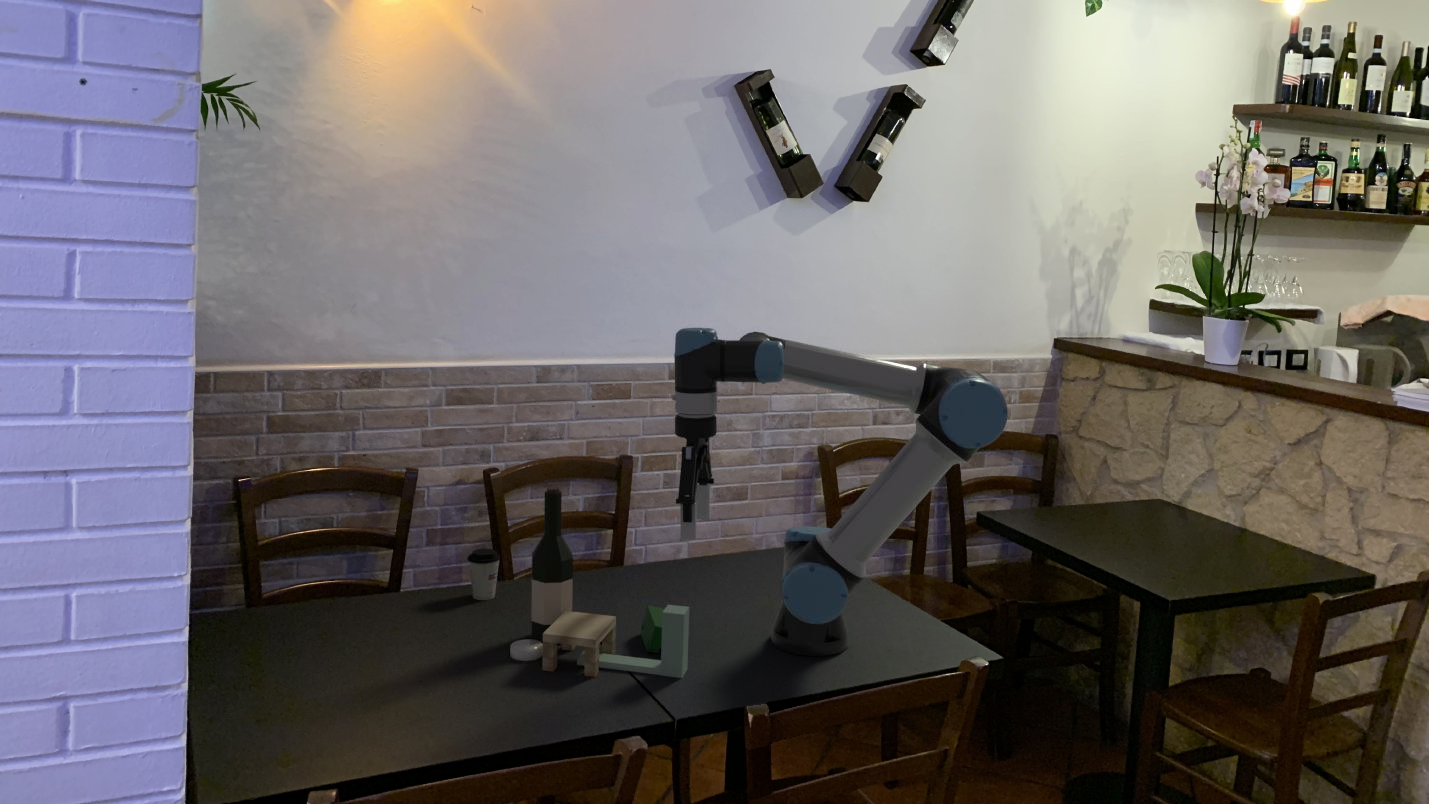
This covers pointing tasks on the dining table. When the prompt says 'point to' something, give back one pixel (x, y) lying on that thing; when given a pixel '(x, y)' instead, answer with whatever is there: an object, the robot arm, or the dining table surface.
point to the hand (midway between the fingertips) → (695, 528)
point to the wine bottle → (551, 570)
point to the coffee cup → (483, 573)
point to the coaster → (526, 650)
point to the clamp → (652, 629)
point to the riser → (580, 638)
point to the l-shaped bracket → (671, 648)
